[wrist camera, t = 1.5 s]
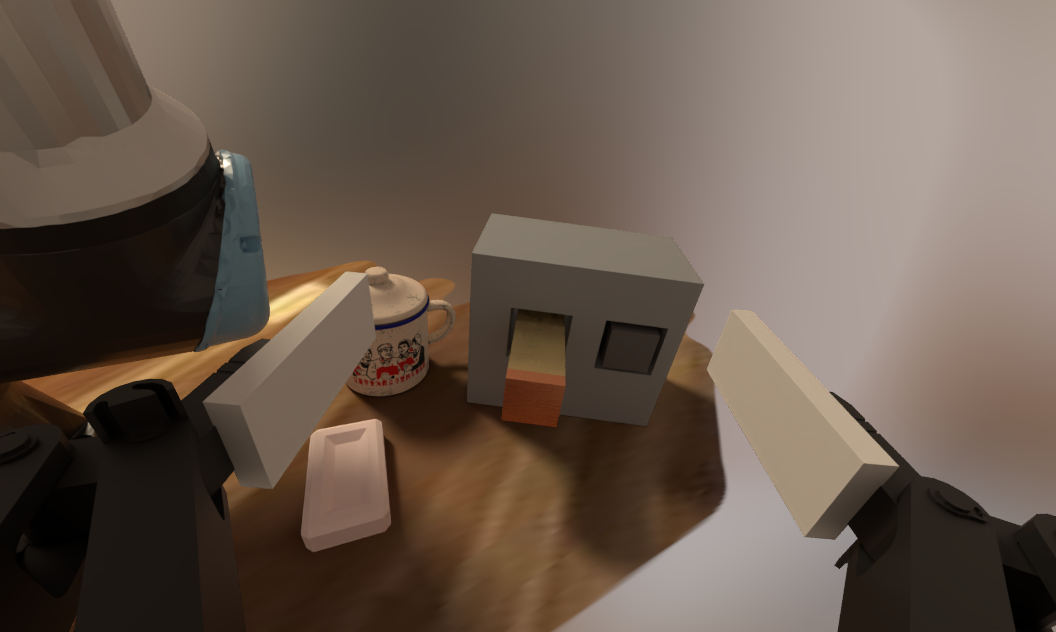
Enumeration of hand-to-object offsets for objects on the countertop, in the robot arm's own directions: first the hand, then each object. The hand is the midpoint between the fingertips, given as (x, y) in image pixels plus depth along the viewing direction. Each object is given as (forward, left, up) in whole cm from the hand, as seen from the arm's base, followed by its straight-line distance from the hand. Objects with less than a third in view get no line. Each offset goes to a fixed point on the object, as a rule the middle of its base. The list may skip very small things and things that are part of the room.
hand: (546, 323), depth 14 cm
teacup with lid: (-14, +19, -21) cm, 31 cm away
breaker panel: (+3, +20, -20) cm, 29 cm away
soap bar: (-13, +5, -21) cm, 25 cm away
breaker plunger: (0, +12, -13) cm, 18 cm away
